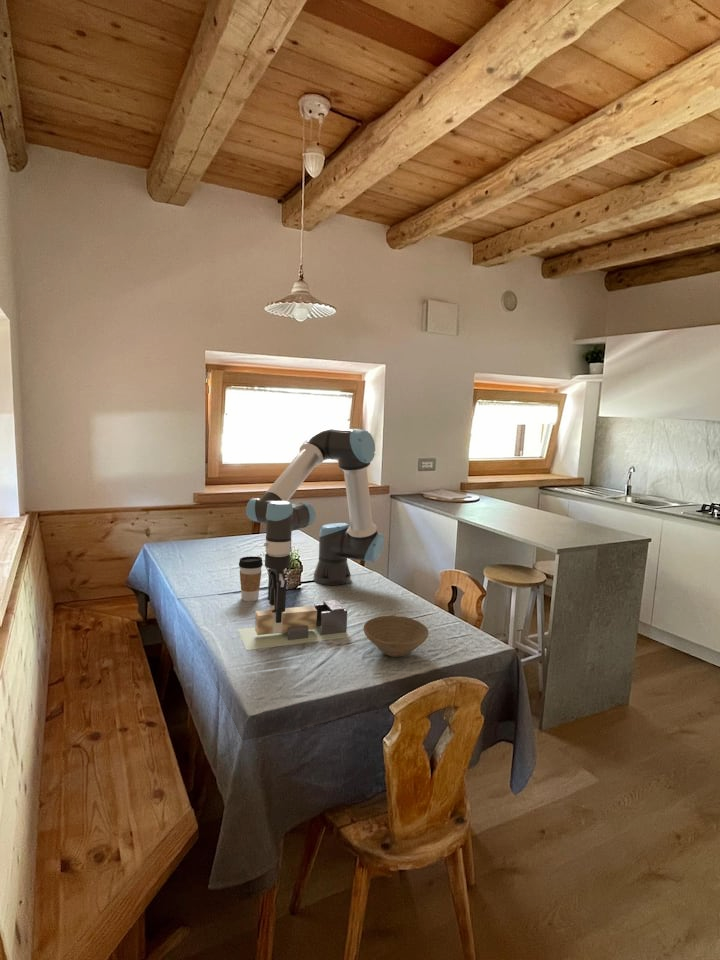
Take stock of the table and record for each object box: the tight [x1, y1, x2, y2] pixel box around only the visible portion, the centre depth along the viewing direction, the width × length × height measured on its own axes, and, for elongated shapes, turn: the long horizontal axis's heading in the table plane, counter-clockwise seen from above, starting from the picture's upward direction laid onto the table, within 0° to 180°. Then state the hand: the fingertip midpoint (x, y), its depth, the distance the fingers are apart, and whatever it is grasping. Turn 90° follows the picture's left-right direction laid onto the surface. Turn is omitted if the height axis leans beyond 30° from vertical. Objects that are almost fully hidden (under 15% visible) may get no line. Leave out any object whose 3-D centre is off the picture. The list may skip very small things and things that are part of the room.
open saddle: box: [288, 625, 308, 640], centre depth 163 cm, size 6×9×4 cm, turn 23°
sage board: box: [237, 626, 352, 651], centre depth 163 cm, size 32×15×1 cm, turn 112°
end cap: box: [313, 599, 348, 635], centre depth 167 cm, size 8×8×8 cm
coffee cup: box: [238, 556, 264, 602], centre depth 190 cm, size 8×8×15 cm
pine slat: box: [254, 605, 317, 635], centre depth 161 cm, size 18×4×6 cm, turn 112°
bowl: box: [363, 615, 429, 658], centre depth 152 cm, size 18×18×8 cm
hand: (275, 628), depth 160 cm, fingers closed on pine slat, 4 cm apart
